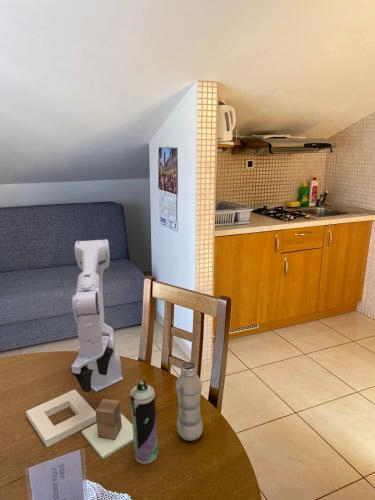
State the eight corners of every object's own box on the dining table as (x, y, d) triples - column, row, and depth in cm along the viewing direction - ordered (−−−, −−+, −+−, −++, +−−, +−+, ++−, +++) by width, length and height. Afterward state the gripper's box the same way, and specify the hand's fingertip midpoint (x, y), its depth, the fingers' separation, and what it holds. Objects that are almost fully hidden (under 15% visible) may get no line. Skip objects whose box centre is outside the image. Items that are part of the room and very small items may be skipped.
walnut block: (105, 424, 101) (102, 398, 99) (121, 427, 100) (119, 400, 98) (98, 437, 97) (95, 410, 95) (115, 440, 96) (113, 413, 94)
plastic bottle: (184, 448, 94) (182, 377, 88) (172, 430, 100) (170, 362, 94) (207, 438, 97) (207, 369, 91) (194, 421, 103) (193, 355, 97)
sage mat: (119, 413, 106) (119, 411, 106) (142, 436, 98) (141, 433, 98) (81, 433, 100) (81, 431, 99) (102, 459, 91) (102, 456, 91)
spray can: (148, 467, 89) (143, 393, 83) (129, 457, 92) (124, 385, 86) (162, 451, 93) (159, 379, 88) (144, 442, 96) (139, 372, 90)
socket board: (75, 395, 114) (74, 389, 114) (98, 420, 104) (97, 414, 103) (27, 417, 106) (26, 411, 105) (46, 447, 95) (45, 440, 95)
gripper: (93, 321, 107) (97, 364, 111) (58, 347, 94) (64, 395, 98) (115, 325, 104) (119, 369, 108) (83, 352, 92) (88, 401, 95)
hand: (94, 382), depth 103 cm, fingers open, 7 cm apart
